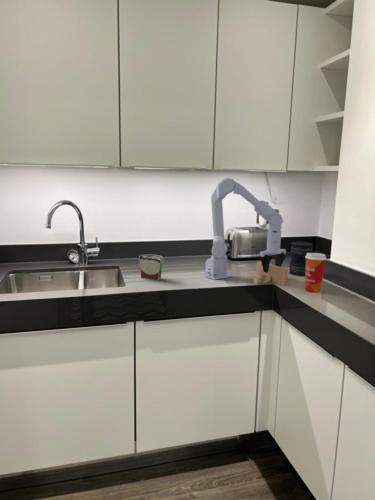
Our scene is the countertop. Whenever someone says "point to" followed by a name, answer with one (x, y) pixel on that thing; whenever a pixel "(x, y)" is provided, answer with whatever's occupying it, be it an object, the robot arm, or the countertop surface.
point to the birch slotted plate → (262, 279)
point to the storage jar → (299, 257)
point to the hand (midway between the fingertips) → (271, 271)
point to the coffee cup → (314, 271)
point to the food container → (151, 266)
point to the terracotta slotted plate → (274, 273)
